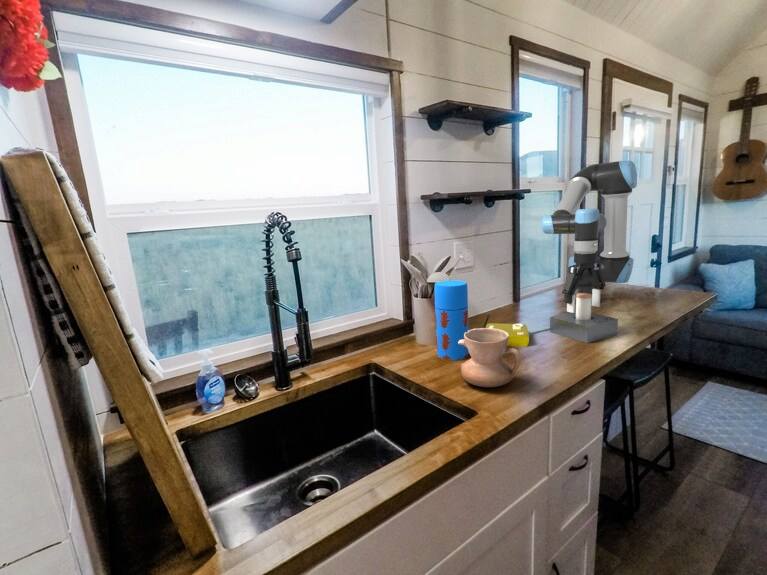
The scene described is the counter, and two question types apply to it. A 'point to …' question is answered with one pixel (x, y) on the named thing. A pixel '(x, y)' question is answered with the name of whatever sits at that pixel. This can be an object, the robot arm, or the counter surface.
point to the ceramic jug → (488, 358)
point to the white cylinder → (583, 306)
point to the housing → (583, 327)
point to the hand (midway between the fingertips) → (583, 309)
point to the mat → (534, 327)
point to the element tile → (513, 333)
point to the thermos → (451, 318)
